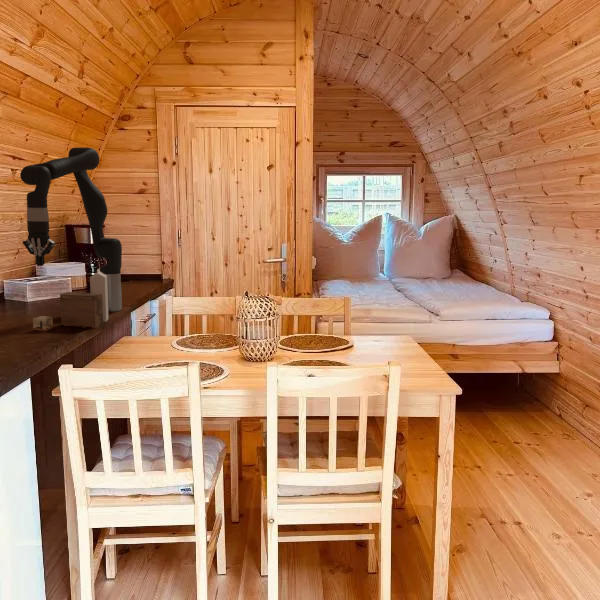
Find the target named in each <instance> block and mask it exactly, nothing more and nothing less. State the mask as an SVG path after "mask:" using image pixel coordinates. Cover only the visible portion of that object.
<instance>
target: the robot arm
mask: <svg viewBox="0 0 600 600" xmlns="http://www.w3.org/2000/svg"><path fill="white" fill-rule="evenodd" d="M99 165H100V156H99V153H98V151H97V149H94V148H92V147H81V146H80V147H78V146H77V147H72V148H70V149H69V150H68V155H67V157H66V156H65V157H59V158H54V159H51V160H48V161H45V162H42V163H35V164H30V165H25V166H24V167H23V168H22V169H21V170H20V179H21V181H22V182H23V183H24V184H25V185H29V186H35V188H34V190H33V191H32V190H31V191H30V192H27V194H26V222H27V224H26V225H27V232H28V235H27V238H26V240H23V241H22V245H24V247H25V248H26V249H27V251H28V253H29V254H30V255H33V256H34V257H35V265H36V266H37V267H43V266H44V265H45V256H47V255H49V254H50V253H51V252H52V250H53V249H54V247H55V246H56V241H53V240H51V237H50V234H49V233H50V219H49V209H48V195H49V190H50V185H51V182H52V180H57V179H60V178H61V177H65V176H67V175H70V174H73V175H74V178H75V181H76V184H77V186H78V189H79V193H80V196H81V199H82V203H83V207H84V210H85V211H84V212H85V214H86V217H87V220H88V225H89V228H90V233H91V239H92V243H93V248H94V252H95V254H96V256H97V257H98V258H99V259H108V263H107V264H105V265H103V266H102V265H101V266H100V267H99V268H100V272H101V273H103V274H105V275H107V286H108V312H120V311H122V309H123V299H122V296H123V295H122V292H123V291H122V281H121V280H122V279H121V278H122V277H121V275H122V274H121V273H122V272H121V270H122V264H123V263H122V259H123V258H122V257H123V254H122V253H123V247H122V242H121V240H120V239H118V238H115V237H113V238H111V237H105V235H104V224H105V221H106V219H107V216H108V206H107V205H108V204H107V203H106V198H105V196H104V195H103V192H101V190H100V189H99V188H98V186H97V185H95V183H94V182H93V180H91V178H90V176H89V174H88V171H92V170H95V169H97V167H98V166H99Z"/></svg>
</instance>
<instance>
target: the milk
mask: <svg viewBox="0 0 600 600" xmlns="http://www.w3.org/2000/svg"><path fill="white" fill-rule="evenodd" d="M89 285H90V286H89V287H90V290H89V291H90V292H89V293H95V294H102V299H103V323H107V322H108V321H109V311H108V286H107V275H105V274H103V273H101V272H100V267H99V268H97V270H96V273H95V274H93V275H91V276H90V277H89Z"/></svg>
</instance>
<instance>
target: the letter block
mask: <svg viewBox="0 0 600 600" xmlns="http://www.w3.org/2000/svg"><path fill="white" fill-rule="evenodd" d="M53 323H54V322H53V316H45V315H44V316H42V315H40V316H37V317H33V318H32V326H33V327H32V329H33V328H40V329H46V328H50V327H53V328H54V325H53Z"/></svg>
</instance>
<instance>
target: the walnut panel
mask: <svg viewBox="0 0 600 600" xmlns="http://www.w3.org/2000/svg"><path fill="white" fill-rule="evenodd" d="M59 301H60V304H59V305H60V321H61V324H71V325H84V326H91V327H92V328H91V329H97V328H100V327H103V326H104V322H103V299H102V294H95V293H91V292H74V291H73V292H71V291H69V292H64V293H60V294H59ZM61 324H60V325H61Z"/></svg>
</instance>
